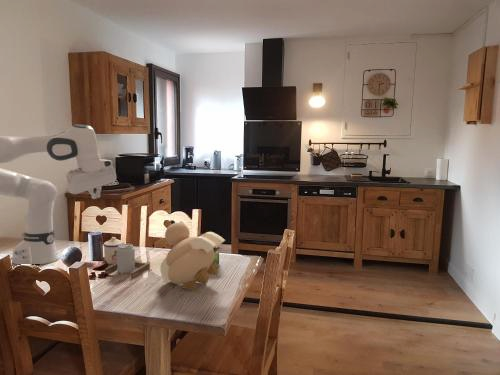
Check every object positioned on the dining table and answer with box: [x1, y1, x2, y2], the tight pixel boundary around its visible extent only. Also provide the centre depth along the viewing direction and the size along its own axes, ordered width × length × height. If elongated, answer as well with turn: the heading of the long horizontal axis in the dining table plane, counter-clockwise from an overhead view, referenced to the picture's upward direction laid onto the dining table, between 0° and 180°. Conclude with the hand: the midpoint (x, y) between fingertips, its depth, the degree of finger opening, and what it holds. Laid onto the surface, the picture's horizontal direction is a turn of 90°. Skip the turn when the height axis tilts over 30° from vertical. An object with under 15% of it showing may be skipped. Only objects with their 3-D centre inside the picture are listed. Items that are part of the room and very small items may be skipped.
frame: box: [104, 260, 151, 279], centre depth 167 cm, size 14×13×2 cm
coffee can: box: [197, 232, 220, 267], centre depth 177 cm, size 10×10×14 cm
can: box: [116, 243, 136, 275], centre depth 166 cm, size 8×8×12 cm
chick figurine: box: [159, 220, 226, 293], centre depth 151 cm, size 30×28×23 cm
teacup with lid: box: [103, 236, 125, 265], centre depth 181 cm, size 12×9×12 cm
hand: (96, 197), depth 155 cm, fingers closed
